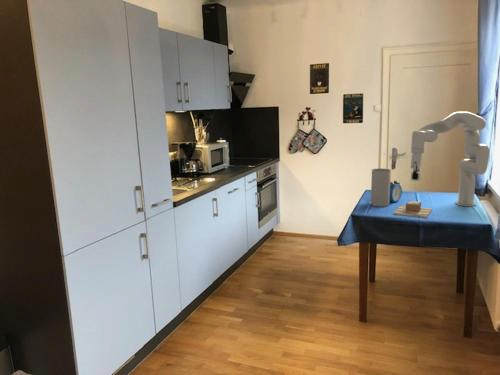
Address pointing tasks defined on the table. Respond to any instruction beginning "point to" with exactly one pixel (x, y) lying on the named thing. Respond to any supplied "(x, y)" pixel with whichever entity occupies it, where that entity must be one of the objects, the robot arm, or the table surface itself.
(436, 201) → the table surface
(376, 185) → the cylinder vase
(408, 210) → the build board
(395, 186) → the alarm clock
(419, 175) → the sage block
